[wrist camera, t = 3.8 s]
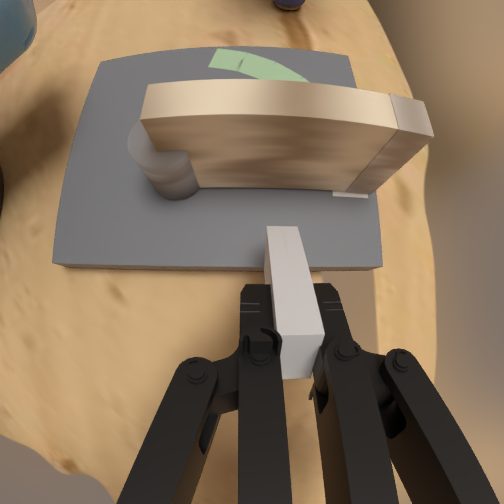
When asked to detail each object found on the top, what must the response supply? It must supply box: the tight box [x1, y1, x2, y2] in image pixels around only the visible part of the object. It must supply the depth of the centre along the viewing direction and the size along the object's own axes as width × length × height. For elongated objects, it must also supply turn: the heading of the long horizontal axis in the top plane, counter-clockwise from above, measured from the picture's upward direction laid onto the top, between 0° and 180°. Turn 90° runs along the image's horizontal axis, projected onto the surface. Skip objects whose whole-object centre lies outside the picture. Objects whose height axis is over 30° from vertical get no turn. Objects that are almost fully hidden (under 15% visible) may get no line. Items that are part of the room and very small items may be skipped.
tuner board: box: [52, 46, 383, 271], centre depth 21 cm, size 23×19×2 cm
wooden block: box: [127, 79, 434, 200], centre depth 15 cm, size 15×4×8 cm, turn 90°
